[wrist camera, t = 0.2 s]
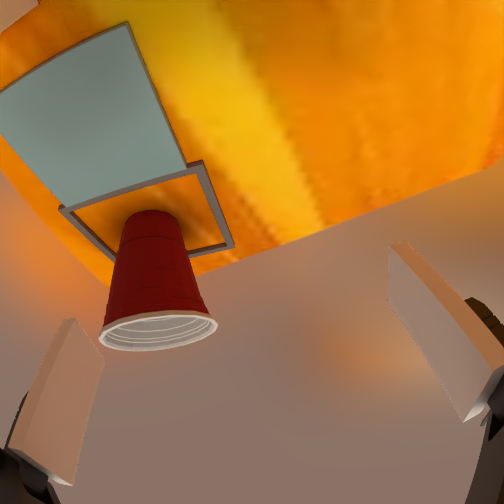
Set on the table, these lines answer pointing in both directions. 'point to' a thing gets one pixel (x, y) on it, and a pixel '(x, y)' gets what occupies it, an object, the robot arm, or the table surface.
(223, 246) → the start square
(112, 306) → the plastic cup
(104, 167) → the pad
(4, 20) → the die
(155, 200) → the table surface
